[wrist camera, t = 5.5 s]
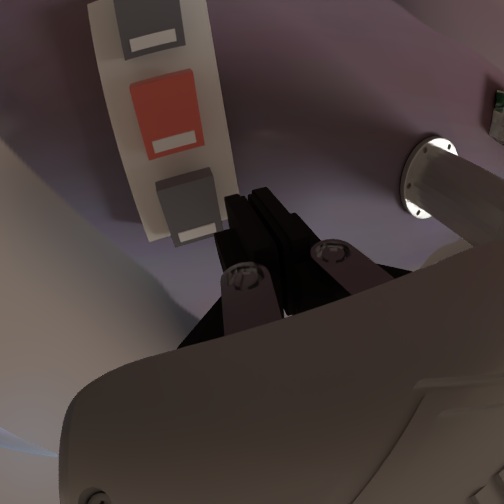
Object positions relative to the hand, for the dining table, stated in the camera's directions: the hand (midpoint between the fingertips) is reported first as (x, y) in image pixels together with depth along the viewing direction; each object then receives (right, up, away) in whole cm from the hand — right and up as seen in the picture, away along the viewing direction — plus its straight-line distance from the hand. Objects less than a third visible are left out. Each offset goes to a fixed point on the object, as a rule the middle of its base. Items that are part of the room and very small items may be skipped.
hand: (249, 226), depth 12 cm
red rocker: (-6, +9, +8) cm, 14 cm away
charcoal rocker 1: (-7, +16, +4) cm, 18 cm away
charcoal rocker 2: (-5, +3, +13) cm, 14 cm away
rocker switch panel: (-8, +12, +12) cm, 18 cm away
